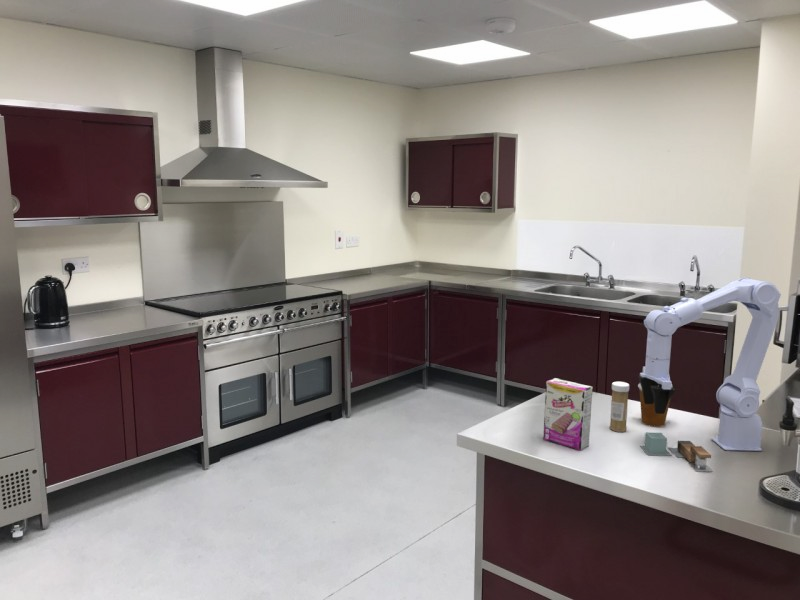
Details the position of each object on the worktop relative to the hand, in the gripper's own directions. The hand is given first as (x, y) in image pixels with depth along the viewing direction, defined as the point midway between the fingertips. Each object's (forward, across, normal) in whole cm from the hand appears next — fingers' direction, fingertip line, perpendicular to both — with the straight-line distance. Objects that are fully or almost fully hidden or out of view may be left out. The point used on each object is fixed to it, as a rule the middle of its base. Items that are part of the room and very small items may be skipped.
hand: (654, 408), depth 161 cm
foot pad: (+10, +4, +7) cm, 13 cm away
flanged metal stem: (+10, +13, +7) cm, 18 cm away
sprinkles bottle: (+11, -12, -5) cm, 17 cm away
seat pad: (+10, +3, 0) cm, 11 cm away
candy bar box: (+11, -1, -22) cm, 24 cm away
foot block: (+10, +3, 0) cm, 11 cm away
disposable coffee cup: (+11, -18, +7) cm, 22 cm away
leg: (+10, +9, +7) cm, 15 cm away
